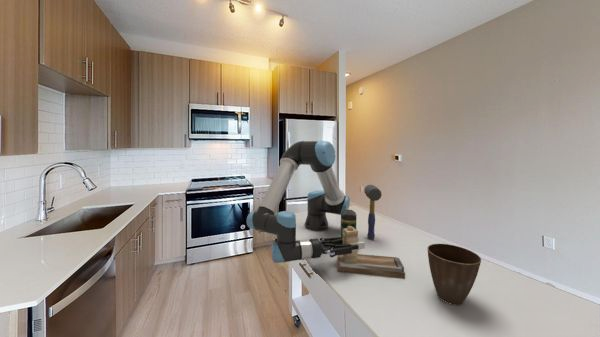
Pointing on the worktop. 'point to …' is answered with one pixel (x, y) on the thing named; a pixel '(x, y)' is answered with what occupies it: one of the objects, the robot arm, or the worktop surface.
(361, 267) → the walnut board
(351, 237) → the beige tall block
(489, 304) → the worktop surface
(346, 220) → the coffee jar
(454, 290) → the plant pot
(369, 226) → the rubber mallet
